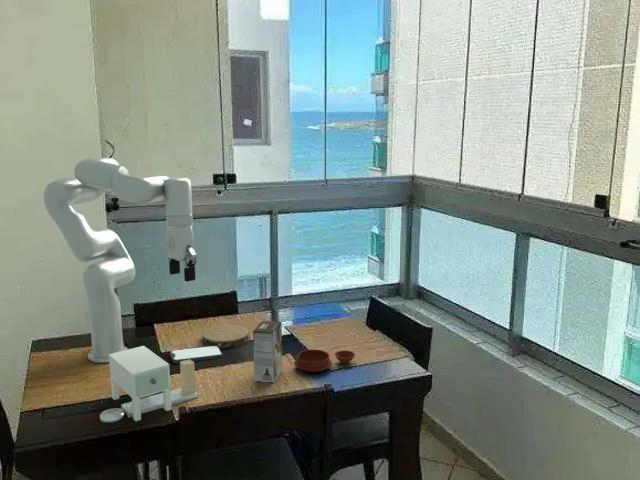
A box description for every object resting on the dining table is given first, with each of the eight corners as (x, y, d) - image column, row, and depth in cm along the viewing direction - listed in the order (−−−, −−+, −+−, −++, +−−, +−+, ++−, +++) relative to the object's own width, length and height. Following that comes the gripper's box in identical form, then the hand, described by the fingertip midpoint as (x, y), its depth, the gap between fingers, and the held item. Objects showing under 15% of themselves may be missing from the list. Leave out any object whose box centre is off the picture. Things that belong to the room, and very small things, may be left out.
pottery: (289, 364, 187) (289, 351, 186) (346, 355, 195) (346, 342, 194) (302, 379, 177) (302, 365, 176) (362, 368, 184) (362, 355, 183)
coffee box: (262, 369, 184) (261, 320, 180) (282, 370, 182) (282, 321, 179) (253, 381, 175) (252, 330, 171) (274, 383, 174) (273, 332, 170)
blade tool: (121, 409, 159) (118, 374, 157) (189, 390, 170) (187, 357, 168) (128, 418, 154) (126, 382, 152) (198, 397, 165) (196, 364, 163)
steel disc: (96, 417, 155) (96, 412, 154) (119, 410, 158) (119, 405, 158) (104, 426, 150) (104, 422, 150) (127, 418, 154) (127, 414, 154)
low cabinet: (112, 398, 164) (108, 354, 162) (146, 387, 171) (143, 345, 168) (138, 423, 151) (134, 376, 148) (174, 411, 157) (171, 366, 154)
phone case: (217, 349, 201) (169, 355, 195) (217, 344, 200) (169, 350, 195) (223, 359, 192) (173, 365, 187) (223, 354, 192) (173, 360, 186)
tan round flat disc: (257, 338, 210) (257, 330, 209) (228, 352, 197) (227, 344, 196) (223, 329, 218) (223, 321, 218) (193, 343, 205) (192, 335, 204)
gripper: (154, 217, 175) (158, 273, 179) (181, 226, 162) (184, 285, 166) (178, 215, 180) (180, 269, 184) (205, 223, 167) (207, 281, 170)
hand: (182, 277), depth 175 cm, fingers open, 9 cm apart
